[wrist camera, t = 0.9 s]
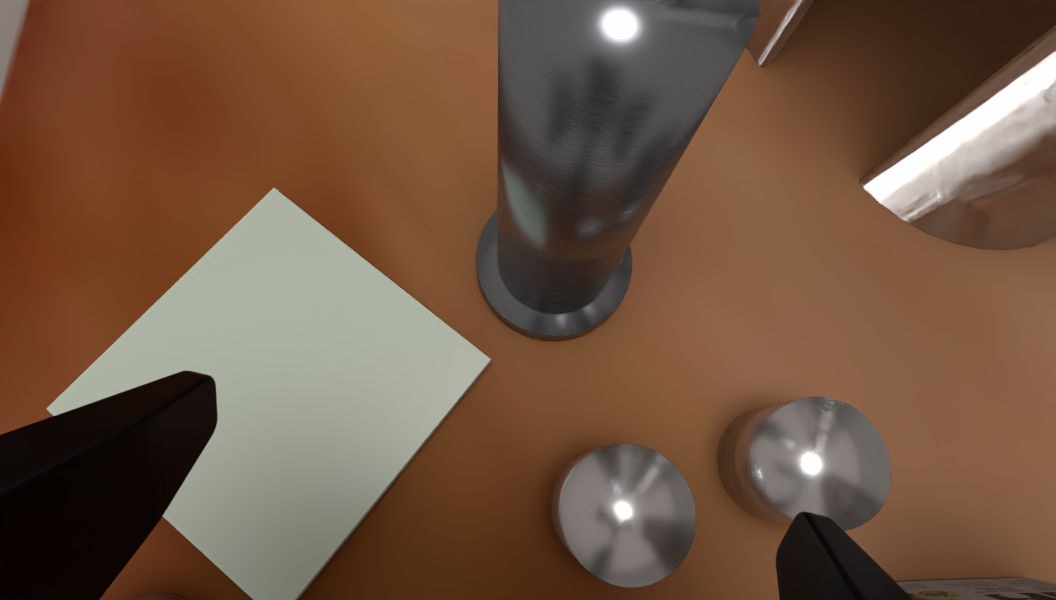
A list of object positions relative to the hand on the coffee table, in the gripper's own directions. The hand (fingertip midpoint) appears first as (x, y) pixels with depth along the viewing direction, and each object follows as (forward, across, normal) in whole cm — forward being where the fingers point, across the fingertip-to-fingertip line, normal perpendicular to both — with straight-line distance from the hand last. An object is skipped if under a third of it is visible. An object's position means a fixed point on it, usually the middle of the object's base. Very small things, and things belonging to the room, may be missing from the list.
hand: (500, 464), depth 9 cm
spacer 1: (+9, -4, +9) cm, 14 cm away
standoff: (+15, 0, +3) cm, 15 cm away
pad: (+10, +8, +8) cm, 16 cm away
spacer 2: (+11, -10, +7) cm, 17 cm away
